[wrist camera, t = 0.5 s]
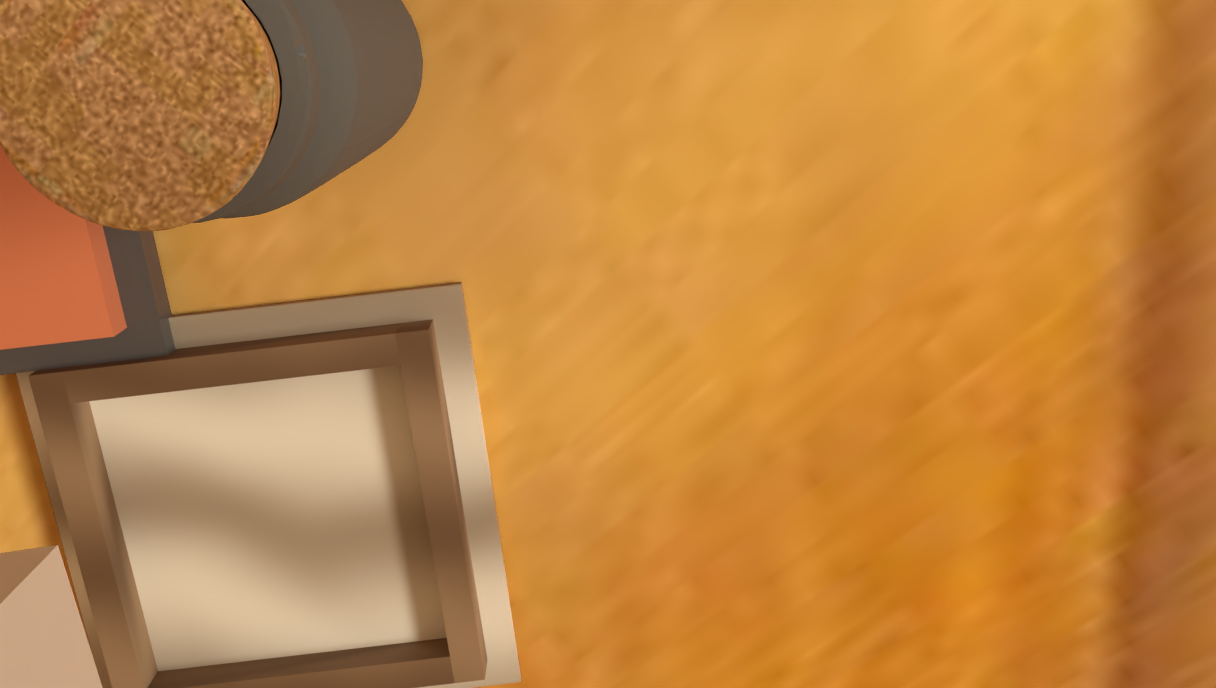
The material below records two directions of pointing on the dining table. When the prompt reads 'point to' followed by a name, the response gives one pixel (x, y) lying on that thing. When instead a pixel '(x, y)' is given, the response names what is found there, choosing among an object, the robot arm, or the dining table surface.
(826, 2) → the dining table surface
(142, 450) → the frame
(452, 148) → the dining table surface
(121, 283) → the ink pad
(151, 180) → the cork-lidded jar
